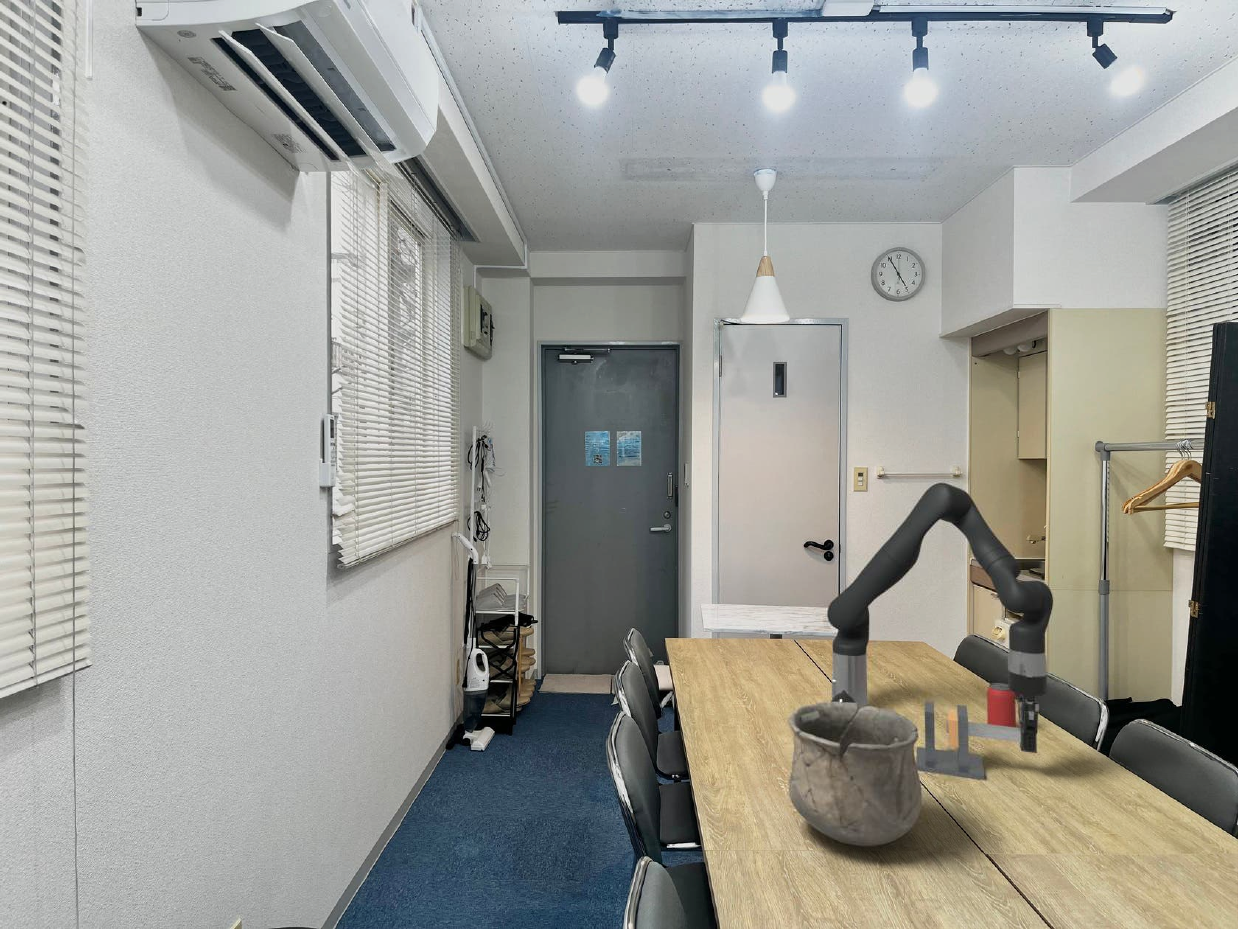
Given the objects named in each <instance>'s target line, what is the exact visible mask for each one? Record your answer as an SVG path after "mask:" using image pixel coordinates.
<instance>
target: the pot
mask: <svg viewBox="0 0 1238 929" xmlns="http://www.w3.org/2000/svg"><path fill="white" fill-rule="evenodd" d="M787 723H788V725H789V727H790V729H791V730H792V733H793V734H792V735H793V736H792V740H793V745H794V747H793V753H792V762H791V772H790V776H789V779H788V792H789V799H790V801H791V803H792V806H793V807H794V808H795V810H796V811H797V813H798V814H799V815H800V816H801V817H802V818H803V819H804V820H805V821H806V822H807V823H809V824H810V825H811V826H812V827H813V828H814V829H815V830H816V831H818V832H820V833H821V834H824V835H825V836H827V837H829V838H830V839H832V840H835V841H837V842H839V843H842V844H846V845H847V844H848V845H850V846H851V845H854V846H859V847H860V846H861V847H878V846H882V845H885V844H889V843H891V842H894V841H897V840H898V839H900V838H901V837H903V836H904V835H905V834H907V833H909V831H910V830H911V829H913V828H914V826H915V825H916V823H917V821H918V819H919V816H920V812H921V808H922V801H923V800H922V797H923V794H922V784H921V778H920V775H919V770H917V766H916V758H915V749H914V748H915V744H916V742H917V741H918V739H919V733H918V727H917V726H916V725H915V724H914V723H913V722H912V721H911V720H909V719H908V718H907V717H906V716H904V715H902V714H900V713H898V712H896V711H893V710H891V709H885V708H878V707H876V706H874V705H873V706H872V705H867V706H865V707H863V708H860V709H859V706H858V703H848V702H845V703H844V702H831V701H822V702H816V703H815V704H808V705H801V706H799V707H798V708H796V709H795V710H794V711H793V712H792V713H791V714H790V715H789V716H788V719H787Z"/></svg>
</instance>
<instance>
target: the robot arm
mask: <svg viewBox="0 0 1238 929" xmlns="http://www.w3.org/2000/svg"><path fill="white" fill-rule="evenodd" d="M940 520H941V521H944V522H947V523H951V525H953V526H954V527H955V528H957V529H958V530H959V531H960V532H961V533H962V534H963V535H964V537H965V538H966V539H967V541H968V543H969V546H970V549H971V553H972V555H973V557H974V559H975V560H976V562H977V563H978V564H979V566H980V567H981V568H982V570H983V571H984V572H985V573H986V574H987V576H988V577H989V578H990V580H991V582H992V585H993V588H994V589H995V592H996V595H997V597H998V600H999V602H1000V603H1001V605H1002V606H1003V607H1004V608H1005V609H1006V610H1008V611H1009V612H1011V613H1012V614H1022V617H1021V619H1020V620H1017V621H1016V622H1014V623H1011V624H1010V626H1009V628H1008V636H1009V637H1008V641H1009V642H1008V656H1007V668H1008V669H1007V671H1008V672H1007V673H1008V674H1007V675H1008V678H1007V679H1008V680H1007V681H1008V684H1007V685H1008V687H1009V689H1010V690H1012V691H1013V692H1014V693H1015V694H1017V696H1016V703H1017V704H1016V705H1017V714H1018V720H1020V721H1021V722H1022V723H1023V729H1022V731H1023V747H1024V749H1025V750H1027V751H1035V735H1037V736H1038V733H1039V732H1038V723H1039V711H1040V704H1039V702H1038V698H1036V697H1037V696H1044V695H1046V694H1047V693H1048V667H1047V666H1048V664H1047V663H1048V661H1047V655H1046V632H1047V628H1048V626H1049V622H1050V618H1051V615H1052V612H1053V608H1054V597H1053V593H1052V590H1051V589H1050V587H1049V586H1048V585H1047V583H1045V582H1043V581H1040V580H1023V581H1019V580H1018V579H1017V578H1018V577H1019V576H1020V575H1021V572H1022V567H1021V564H1020V563H1019V562H1018V560H1017V559H1016V558H1015V556H1013V554H1012V553H1011V552H1010V550H1008V548H1006V546H1005V545H1004V544H1003V543H1002V542H1001V540H999V538H998V537H997V535H996V534H995V533H994V532H993V531H992V529H991V528H990V526H989V525H988V523H987V522H986V520H985V518H984V517H983V515H982V513H981V512H980V510H979V508H978V506H977V505H976V504H975V501H974V500H973V499H972V497H971V496H970V494H969V493H968V492H966V490H964V489H962V488H960V487H957V486H954V485H951V484H949V483H945V482H938V483H935V484H933V485H931V486H930V487H929V488H928V489H926V491H925V492H924V493H923V495H921V497H920V499H919V500H918V501H917V503H916V504H915V506H914V507H913V508H912V510H911V511H910V513H909V514H908V516H907V517H906V518H905V519H904V521H903V522H902V523H901V524H900V525H899V526H898V528H896V530H895V531H894V533H893V534H892V535H891V537H889V539H888V540H886V542H884V544H883V545H882V546H881V547H880V548H879V550H878V551H876V553H875V554H874V556H872V558H871V559H870V560H869V562H868V563H867V564H866V565H865V566H864V568H863V569H862V570H861V571H860V573H859V574H858V575H857V576H856V578H855V579H854V581H852V583H850V585H849V586H847V587H846V588H845V589H844V590H843V591H842V592H841V593H840V594H839V595H837V596H836V597H835V598H834V599H833V600H832V601H830V603H829V605H828V607H827V611H826V612H827V613H826V615H827V621H828V623H829V624H830V625H831V627H833V628H835V629H837V633H836V636H835V638H834V640H833V641H832V679H831V699H832V698H833V697H834V696H835V695H836V694H838V693H842V691H843V690H845V691H846V693H847V694H849V695H851V696H852V697H853V698H854V700H855V701H856V703H858V706H859V709H860V708H863V707H865V706H868V672H867V671H868V670H867V669H868V665H867V663H868V662H867V660H868V659H867V654H868V653H867V649H868V644H869V640H870V610H869V606H870V605H871V604H872V603H873V602H875V600H876V599H877V598H878V597H880V596H881V595H883V594H884V593H886V592H887V591H888V590H890V589H891V588H893V587H894V586H895V585H896V584H897V583H899V582H900V581H901V580H902V579H903V578H904V577H905V575H907V574H908V572H910V571H911V569H912V568H914V566H915V565H916V563H917V561H918V559H919V557H920V554H921V553H920V552H921V549H922V544H923V541H924V538H925V536H926V535H927V533H928V532H929V531H930V530H931V529H932V528H933V526H934V525H935V524H936V523H938V521H940ZM1027 726H1033V728H1027Z"/></svg>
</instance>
